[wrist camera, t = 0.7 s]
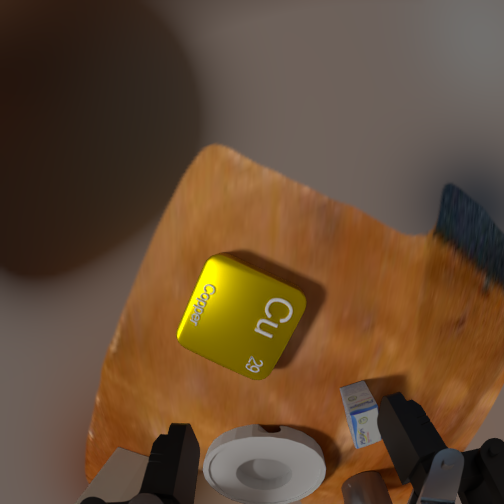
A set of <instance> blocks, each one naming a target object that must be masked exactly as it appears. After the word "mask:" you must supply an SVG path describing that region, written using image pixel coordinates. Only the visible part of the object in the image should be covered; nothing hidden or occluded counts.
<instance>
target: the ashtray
mask: <svg viewBox="0 0 504 504" xmlns="http://www.w3.org/2000/svg"><path fill="white" fill-rule="evenodd" d="M280 428H281V431H280V432H277V433H268V432H267V431H265V430H264V429H263V428H262V427H261V426H258V424H253V425H248V426H242V427H237V428H235V429H232V430H230V431H227V432H225V433H223V434H222V435H220V436H219V437H218V438H216V439H215V440H214V441H213V442H212V444H211V445H210V447H209V448H208V451H207V454H206V457H205V460H204V465H203V473H204V476H205V479H206V480H207V482H208V483H209V484H210V486H211V487H212V488H213V489H215V490H216V491H217V492H218V493H220V494H221V495H223V496H225V497H227V498H229V499H231V500H234V501H237V502H240V503H244V504H288V503H291V502H294V501H297V500H300V499H302V498H304V497H306V496H308V495H309V494H311V493H312V492H313V491H315V490H316V489H317V488H318V487H319V486H320V485H321V483H322V481H323V480H324V478H325V472H326V466H325V460H324V455H323V452H322V450H321V447H320V446H319V445H318V443H317V442H316V441H315V440H314V439H313V438H311V437H310V436H308V435H307V434H305V433H303V432H302V431H299V430H296V429H293V428H290V427H287V426H280Z"/></svg>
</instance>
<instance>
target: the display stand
mask: <svg viewBox="0 0 504 504" xmlns="http://www.w3.org/2000/svg"><path fill="white" fill-rule="evenodd" d="M148 460H149V457H147V456H144V455H141V454H138V453H135V452H132V451H129V450H126V449H123V448H120V447H118V448H117V449H116V450H115V452H114V453H113V454H112V456H111V457H110V458H109V460H108V461H107V462H106V464H105V465H104V466H103V468H102V469H101V470H100V471H99V473H98V474H97V475H96V477H95V478H94V479H93V481H92V482H91V483H90V485H89V486H88V487H87V489H86V490H85V491H84V492H83V494H82V495H81V496H80V498H79V499H78V500H77V501H76V503H75V504H80V503H81V501H82V500H84V499H85V498H88V497H98V498H101V499H102V500H104V501H105V502H124V501H128V500H131V499H132V498H133V497H134V496H136V495H137V494H138V493H139V491H140V489H141V485H142V481H143V478H144V474H145V470H146V467H147V463H148V462H149V461H148Z"/></svg>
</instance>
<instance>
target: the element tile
mask: <svg viewBox="0 0 504 504" xmlns="http://www.w3.org/2000/svg"><path fill="white" fill-rule="evenodd" d="M306 302H307V300H306V298H305V295H304V293H303V291H302V290H301V289H300V287H298V286H297V285H295V284H293V283H291V282H288V281H286V280H284V279H282V278H280V277H278V276H276V275H273V274H271V273H269V272H267V271H265V270H263V269H260V268H258V267H256V266H254V265H252V264H250V263H248V262H245V261H243V260H241V259H239V258H237V257H235V256H233V255H230V254H228V253H218V254H215V255H213V256H210V257H209V258H208V259H207V260H206V262H205V264H204V266H203V268H202V270H201V273H200V275H199V277H198V280H197V282H196V285H195V287H194V289H193V292H192V294H191V296H190V299H189V301H188V304H187V306H186V309H185V311H184V313H183V316H182V318H181V321H180V323H179V326H178V328H177V332H176V338H177V340H178V342H179V343H180V344H181V346H183V347H184V348H186V349H188V350H190V351H192V352H194V353H196V354H198V355H200V356H202V357H204V358H206V359H208V360H210V361H212V362H214V363H216V364H219V365H221V366H223V367H225V368H227V369H230V370H232V371H234V372H236V373H239V374H241V375H243V376H245V377H248V378H250V379H253V380H262V379H265V378H266V377H268V376H269V375H270V373H271V372H272V370H273V368H274V367H275V365H276V363H277V361H278V360H279V358H280V356H281V354H282V352H283V351H284V349H285V347H286V345H287V343H288V341H289V340H290V338H291V336H292V334H293V332H294V330H295V328H296V326H297V325H298V323H299V321H300V319H301V317H302V315H303V313H304V311H305V308H306Z"/></svg>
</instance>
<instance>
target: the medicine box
mask: <svg viewBox="0 0 504 504" xmlns="http://www.w3.org/2000/svg"><path fill="white" fill-rule="evenodd" d="M340 391H341V396H342V400H343V404H344V408H345V413H346V417H347V423H348V426H349V429H350V432H351V435H352V439H353V442H354V445H355V447H356V449H358V448H361V447H364V446H367V445H370V444H373V443H375V442H378V441H380V440H382V437H381V435H380V432H379V430H378V426H377V417H378V413H379V411H378V405H377V403H376V401H375V400H374V398H373V396H372V394H371V392H370V390H369V389H368V387H367V385H366V383H365V381H360V382H357V383H354V384H351V385H348V386H345V387H342V388H340Z"/></svg>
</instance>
